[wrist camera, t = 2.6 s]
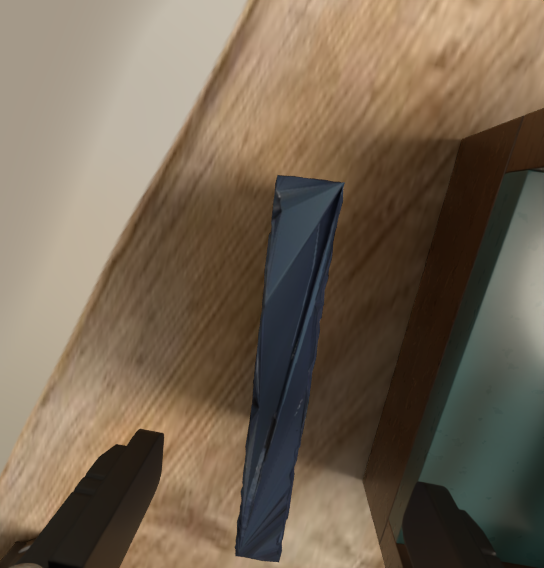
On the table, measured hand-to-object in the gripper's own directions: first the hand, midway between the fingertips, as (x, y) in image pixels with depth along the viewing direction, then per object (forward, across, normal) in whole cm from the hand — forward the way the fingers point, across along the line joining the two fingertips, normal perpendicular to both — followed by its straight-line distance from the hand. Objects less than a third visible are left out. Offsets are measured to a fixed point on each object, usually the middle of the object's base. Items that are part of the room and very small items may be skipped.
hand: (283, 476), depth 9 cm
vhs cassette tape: (+13, 0, 0) cm, 13 cm away
